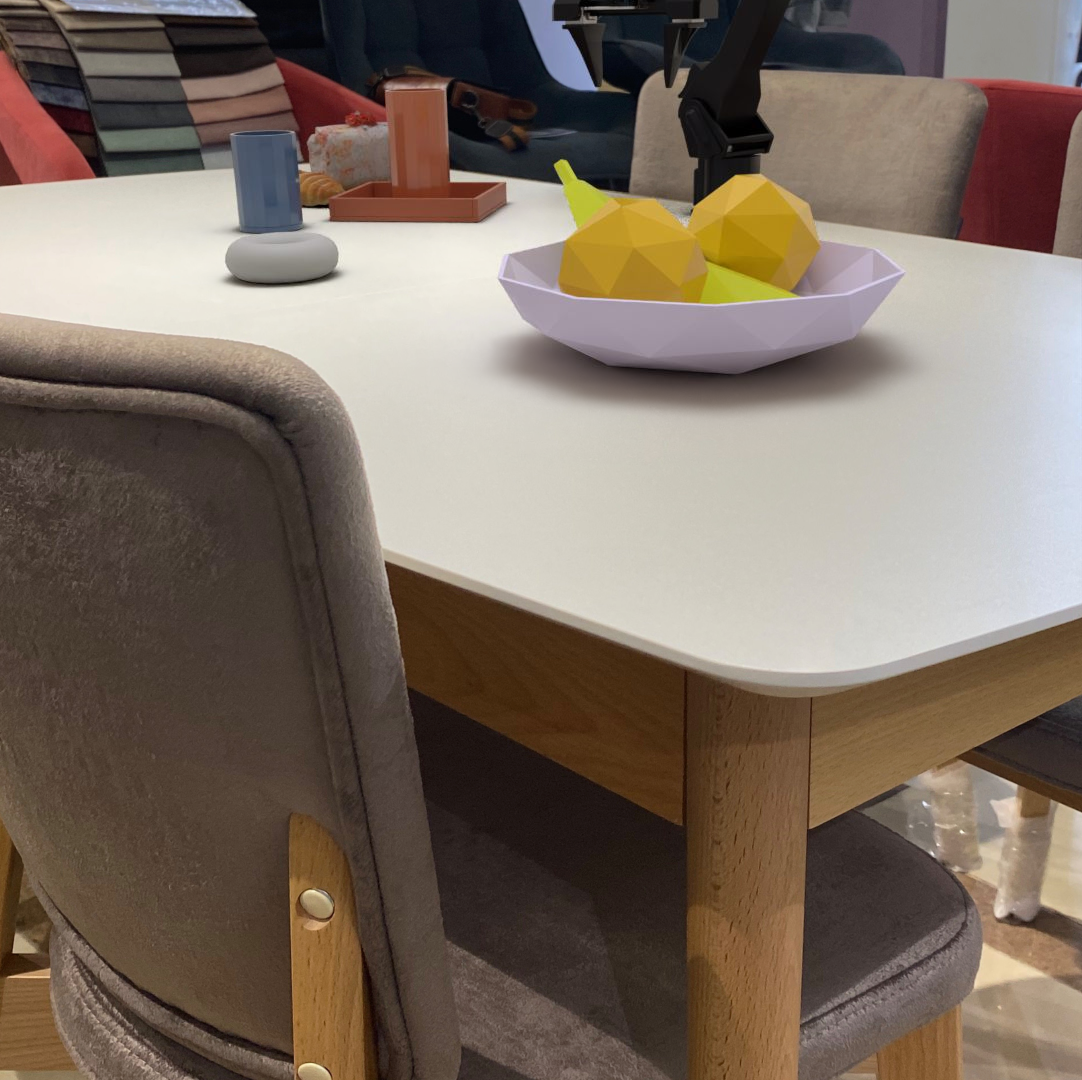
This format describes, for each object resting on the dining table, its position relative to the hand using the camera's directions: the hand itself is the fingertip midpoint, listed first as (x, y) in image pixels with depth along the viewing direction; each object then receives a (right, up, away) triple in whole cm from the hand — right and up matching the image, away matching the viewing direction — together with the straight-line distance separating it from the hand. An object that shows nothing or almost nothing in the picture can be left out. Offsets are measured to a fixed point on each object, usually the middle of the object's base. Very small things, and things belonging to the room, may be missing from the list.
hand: (633, 87), depth 151 cm
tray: (-25, -14, 0) cm, 29 cm away
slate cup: (-40, -19, -9) cm, 45 cm away
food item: (-34, -7, +21) cm, 40 cm away
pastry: (-39, -11, +9) cm, 42 cm away
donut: (-34, -29, -35) cm, 57 cm away
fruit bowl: (-1, -40, -62) cm, 74 cm away
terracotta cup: (-25, -14, 0) cm, 28 cm away
